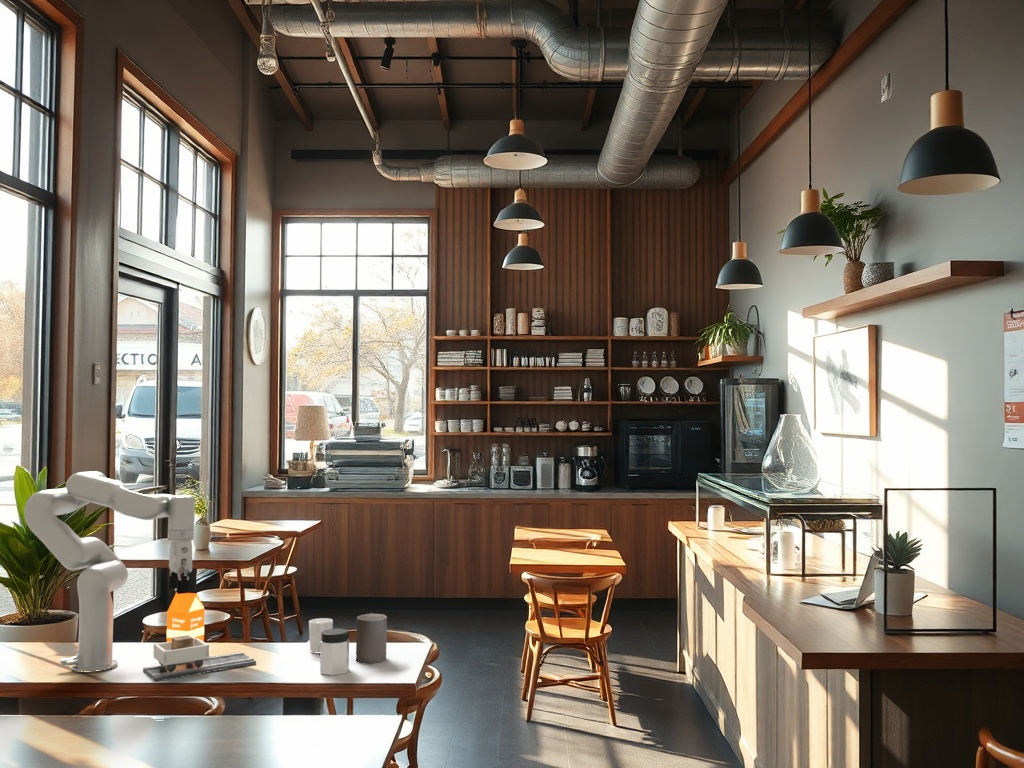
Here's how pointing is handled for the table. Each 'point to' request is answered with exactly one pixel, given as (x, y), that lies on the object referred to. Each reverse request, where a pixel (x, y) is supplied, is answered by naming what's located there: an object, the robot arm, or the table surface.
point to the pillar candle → (371, 638)
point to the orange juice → (185, 617)
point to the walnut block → (181, 642)
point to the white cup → (318, 632)
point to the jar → (334, 652)
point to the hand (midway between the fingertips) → (178, 590)
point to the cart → (181, 654)
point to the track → (208, 665)
